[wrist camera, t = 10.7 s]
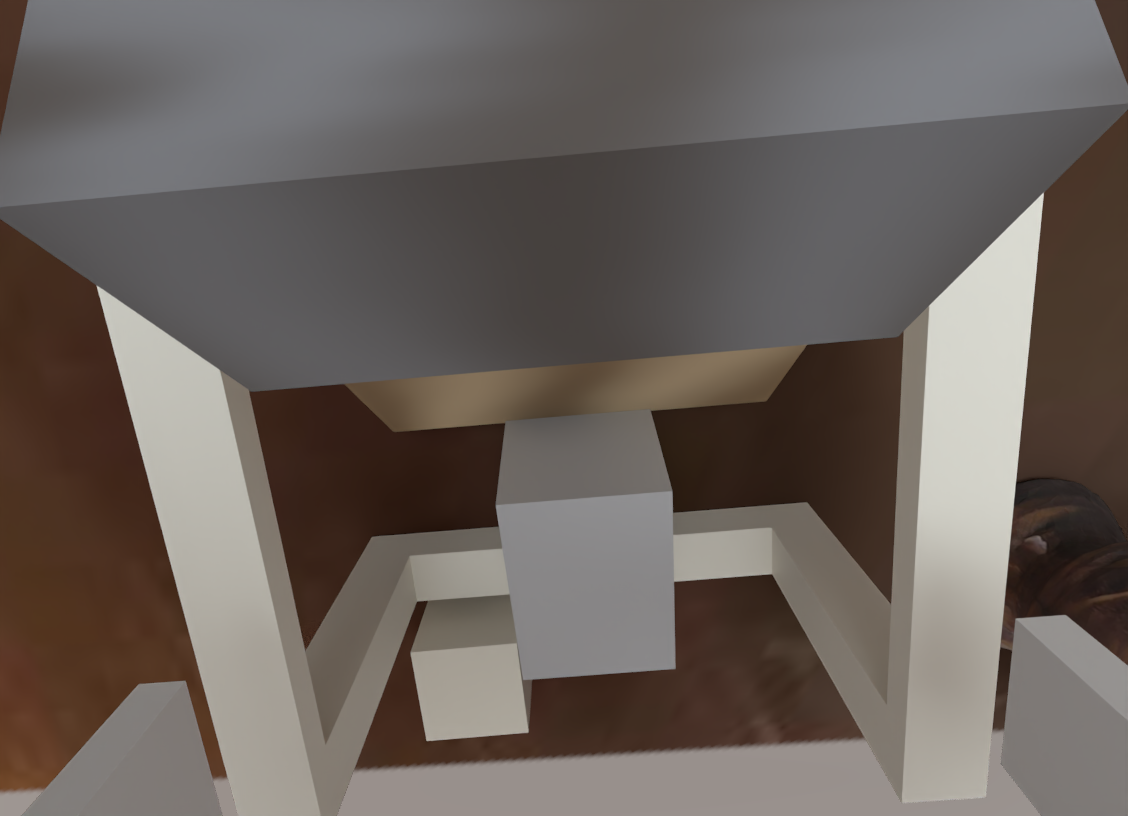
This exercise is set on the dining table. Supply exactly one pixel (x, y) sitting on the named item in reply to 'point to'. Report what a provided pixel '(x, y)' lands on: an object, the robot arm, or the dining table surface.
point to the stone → (588, 544)
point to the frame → (700, 546)
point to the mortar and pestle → (1067, 563)
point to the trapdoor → (539, 182)
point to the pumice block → (470, 669)
